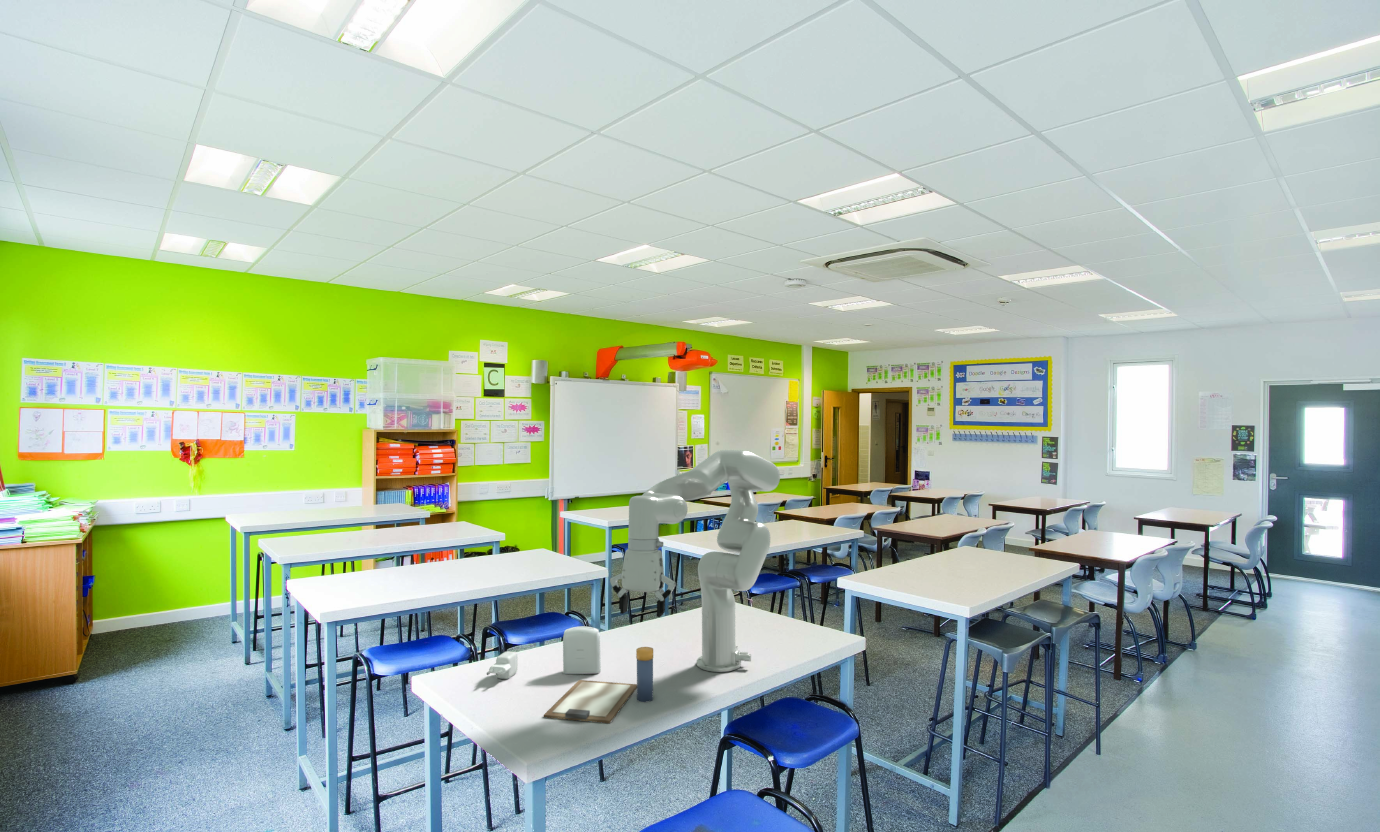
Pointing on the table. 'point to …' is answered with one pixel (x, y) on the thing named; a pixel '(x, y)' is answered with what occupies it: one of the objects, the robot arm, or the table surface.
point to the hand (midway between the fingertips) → (641, 614)
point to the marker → (644, 674)
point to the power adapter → (505, 665)
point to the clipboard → (592, 701)
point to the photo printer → (581, 650)
